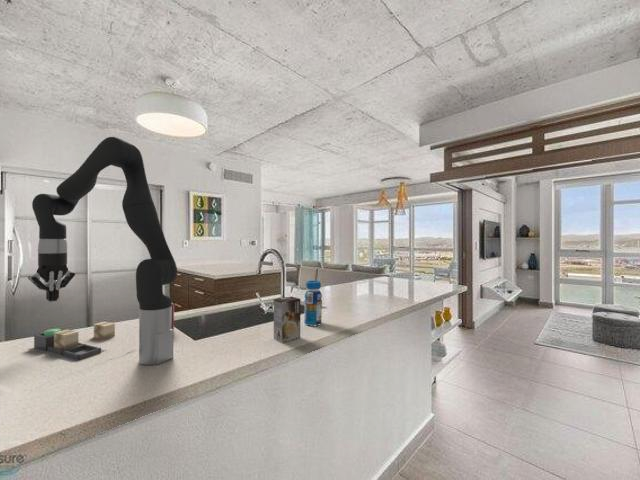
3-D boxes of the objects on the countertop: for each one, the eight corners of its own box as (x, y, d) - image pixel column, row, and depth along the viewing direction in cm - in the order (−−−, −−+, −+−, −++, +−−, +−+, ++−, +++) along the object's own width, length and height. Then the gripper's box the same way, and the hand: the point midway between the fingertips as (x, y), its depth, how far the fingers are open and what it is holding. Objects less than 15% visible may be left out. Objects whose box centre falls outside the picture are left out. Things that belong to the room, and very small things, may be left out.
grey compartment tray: (106, 353, 99) (106, 337, 99) (72, 365, 89) (72, 347, 89) (62, 342, 108) (62, 327, 108) (27, 352, 99) (27, 336, 99)
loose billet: (114, 338, 113) (114, 323, 113) (103, 342, 109) (103, 326, 109) (104, 336, 115) (104, 321, 115) (93, 339, 111) (93, 324, 111)
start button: (63, 337, 103) (63, 329, 103) (48, 341, 99) (48, 333, 99) (56, 336, 105) (56, 327, 105) (41, 340, 101) (41, 331, 101)
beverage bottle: (301, 322, 138) (301, 280, 138) (317, 320, 142) (318, 279, 141) (308, 327, 130) (308, 283, 130) (324, 325, 134) (325, 282, 134)
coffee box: (291, 333, 122) (292, 296, 122) (300, 338, 117) (301, 298, 117) (272, 338, 116) (273, 298, 116) (281, 343, 111) (282, 301, 111)
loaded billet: (78, 349, 100) (78, 331, 100) (64, 353, 96) (64, 335, 96) (67, 346, 102) (67, 329, 102) (53, 350, 98) (53, 332, 98)
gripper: (34, 253, 94) (34, 306, 94) (81, 251, 106) (80, 298, 106) (22, 252, 97) (21, 303, 97) (68, 250, 109) (68, 296, 109)
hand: (52, 300), depth 102 cm, fingers closed
